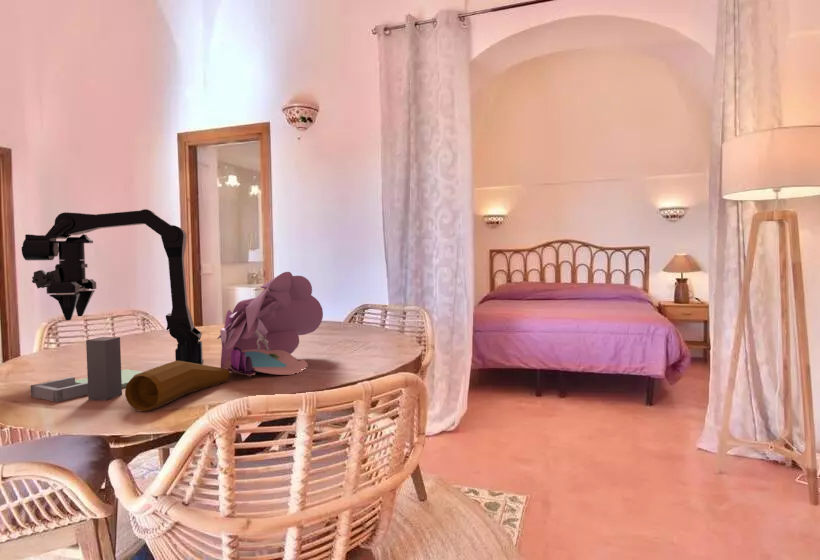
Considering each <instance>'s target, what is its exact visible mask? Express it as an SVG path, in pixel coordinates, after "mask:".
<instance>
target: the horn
mask: <svg viewBox="0 0 820 560" xmlns="http://www.w3.org/2000/svg"><path fill="white" fill-rule="evenodd" d="M230 377H231V372H230V371H229V370H228V369H224V368H221V367H219V366H218V367H217V366H212V365H206V364H202V365H201V364H196V363H190V362H184V361H178V360H177V361H176V360H175V361H171V362H168V363H165V364H162V365H159V366H157V367H154V368H151V369H148V370H145V371H142V373H139V374H136V375H134V377H133V378H132V379H131V380H130V381H129V382H128V383H127V385H126V387H125V390H124V393H125V398H126V402H127V403H128V405H130V406H131V407H132V409H134V410H136V411H140V412H150V411H154V410H156V409H157V408H160V407H162V406H164V405H166V404H168V403H170V402H172V401H174V400H176V399H178V398H180V397H183V396H185V395H187V394H190V393H194V392H196V391H201V390H203V389H207V388H210V387H214V386H217V385H219V384H223V383H225V382H226V381H228V379H230Z"/></svg>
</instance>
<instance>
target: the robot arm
mask: <svg viewBox="0 0 820 560" xmlns="http://www.w3.org/2000/svg"><path fill="white" fill-rule="evenodd" d="M139 225H141V226H142V225H145V226H147V227H149V228H150V229H151V230H152V231H154V232H155V233H157V235H159V236H160V238H161V242H162V246H163V248H164V251H165V254H166V256H167V259H168V261H167V262H168V273H169V283H170V285H169V286H170V297H171V307H172V308H171V311H170V312H169V313H168V314H166V315H165V320H166V326H167V327H166V328H165V330H166V331H168V332H169V335H170V336H171V337H172V338H174V339H176V341H177V344H176V346H177V347H176V349H175V350H174V353H175V354H174V356H175V357H174V358H175V361H177V360H178V361H184V362H190V363H196V364H201V365H203V363H204V358H203V341H201V338H202V334H203V333H202V332H201V331H200V330H199V329H197V328H196V327H195V326H194V325H195V324H194V322H193V317H192V313H191V311H190V309H189V308H190V307H189V306H188V295H187V285H186V284H187V283H186V275H185V274H186V273H185V260H184V259H185V252H186V246H187V245H186V244H187V233H186V231H185V230H184V229H183V228H182V227H179V226H178V225H173V224H170V223H168V222H167V221H165V220H164V219H163V218H161V217H160V216H159V215H157V214H156V213H155V212H154V211H152V210H150V209H147V208H145V209H144V208H142V209H140V210H132V211H122V212H121V211H120V212H119V211H118V212H108V213H107V212H106V213H98V214H97V213H96V214H93V213H92V214H91V213H80V212H69V211H68V212H61V213H59V214H58V215H57V216H56V217H55V219H54V224H53V225H52V227H51V228H50V229H49V230H48V232H46V233H45V235H43V234H41V235H39V234H37V235H36V234H25V236H24V237H25V239H24V240H23V242H22V246H21V255H22V257H23V259H24V260H25V261H53V260H54V259H55V257H58V263H57V264H55V265H54V267H55V268H54V270H51V271H47V272H46V271H44V270H43V269H40V270H37V271H34V272H33V276H32V277H31V283H33V284H35V285H36V286H35V287H37V289H38V290H39V289H45V288H46V294H48V295H49V297H51V298H53V299H55V300H56V301H57V302H58V304H59V306H60V309H61V312H62V314H63V317H64V319H65V321H71V320H72V319H73V316H74V312H75V311H76V315H77V317H83V315H84V314H85V312H86V309H87V307H88V305H89V303H90V301H91V300H92V299H91V298H92V296H93V295H94V293H95V292H96V291H95V290H96V289H97V282H96V281H95V280H94V279H90V278H86V268H88V267H89V266H88V263H86V256H85V253H86V252H85V244H94V240H92V239H90V238H89V237H88V235H87V233H90V232H94V231H96V230H101V229H106V228H107V229H108V228H119V227H129V226H139ZM79 235H80V236H79ZM59 239H61V240H59ZM63 239H65V240H63Z"/></svg>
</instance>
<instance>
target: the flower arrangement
mask: <svg viewBox="0 0 820 560" xmlns="http://www.w3.org/2000/svg"><path fill="white" fill-rule="evenodd" d="M259 287H260V288H261V289H263V290H262V291H261V292H260V293H259V294H258V295H257V296H256V297H253V298H248V299H242V300H240V301H239V302H237V304H236V305H235V307H234V308H233V310H232V311H231V309H228V310H227V312H226V315H225V321H224V327H223V328H220V331H219V333H220V334H219V336H218V337H217V338H216V340H218V339H219V340H220V341H221V354H220V355H221V356H220V368H224V369H228V370H229V371H230V373H233V374H239V375H245V376H247V377H252V375H253V376H254V375H256V373H263V374H270V375H278V376H279V375H281V376H282V375H296V374H295V373H297V374H300V373H302V372H303V370H301V369H304V368H306V367H307V368H308V363H307V362H306V361H305V360H304V359H300V360H298V359H297V357H295V356H293V355H292V353H294V352H295V351H296V350H297V349H298V347H299V344H300V337H299V336H305V335H308V334H311V333H314V332H315V331H317V329H318V328H319V327H320V325H321V324H322V321H323V319H324V317H323V316H324V311H323V307H322V305H321V302H320V301H319V300H318V299H317V298H316V297H315V296H313V287H312V284H311V282H310V280H309V279H307V277H305V276H302V275H293V273H292V272H290V271H284V272H281V273H280V274H278V275H277V276H275V277H274V278H272V279H270V280H269V281H267V282H265V283H264V284H262V285H261V286H259ZM307 368H306V369H307ZM299 372H300V373H299Z"/></svg>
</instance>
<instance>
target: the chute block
mask: <svg viewBox="0 0 820 560" xmlns="http://www.w3.org/2000/svg"><path fill="white" fill-rule="evenodd" d="M85 345H86V346H85V347H86V369H87V370H86V371H87V372H86V373H87V374H86V375H87V378H88V394H87V396H88V397H87V398H88V400H91V401H109V400H111V399H114V398H117V397H119V396H121V395H123V388H122V379H121V370H122V356H121V354H122V353H121V337H120V336H118V337H117V336H101V337H96V338H90V339H87V340H85Z"/></svg>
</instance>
